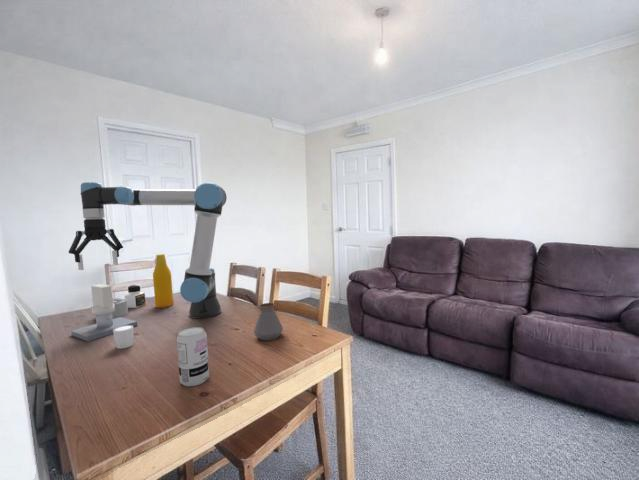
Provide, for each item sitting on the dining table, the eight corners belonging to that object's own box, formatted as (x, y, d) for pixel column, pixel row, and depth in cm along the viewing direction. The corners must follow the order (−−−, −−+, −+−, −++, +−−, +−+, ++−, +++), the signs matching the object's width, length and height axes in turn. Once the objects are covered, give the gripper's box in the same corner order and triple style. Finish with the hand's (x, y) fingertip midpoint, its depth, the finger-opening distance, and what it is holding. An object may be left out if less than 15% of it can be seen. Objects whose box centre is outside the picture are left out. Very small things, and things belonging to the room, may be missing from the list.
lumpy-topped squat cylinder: (97, 316, 163) (95, 300, 162) (126, 310, 171) (125, 295, 170) (99, 321, 155) (97, 304, 154) (129, 315, 163) (128, 298, 162)
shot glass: (139, 342, 125) (137, 325, 124) (123, 350, 118) (121, 332, 118) (126, 341, 127) (124, 324, 126) (110, 348, 121) (108, 330, 120)
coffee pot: (289, 335, 126) (287, 298, 124) (265, 345, 118) (263, 305, 116) (258, 324, 141) (256, 291, 139) (235, 331, 132) (233, 296, 131)
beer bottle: (176, 302, 183) (172, 253, 180) (169, 307, 173) (164, 255, 171) (160, 303, 182) (156, 253, 180) (152, 308, 173) (147, 256, 171)
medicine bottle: (136, 308, 175) (134, 287, 174) (125, 307, 176) (123, 286, 175) (145, 304, 182) (144, 284, 181) (135, 304, 183) (133, 284, 182)
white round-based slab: (119, 310, 141) (117, 284, 140) (98, 316, 134) (95, 288, 133) (106, 307, 147) (104, 282, 146) (86, 313, 140) (83, 286, 139)
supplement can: (185, 374, 98) (181, 327, 97) (212, 372, 98) (209, 325, 97) (175, 388, 90) (171, 337, 88) (205, 386, 90) (201, 335, 89)
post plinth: (137, 325, 145) (135, 308, 145) (87, 341, 128) (85, 322, 128) (120, 320, 153) (119, 304, 153) (71, 335, 136) (69, 317, 136)
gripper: (120, 218, 149) (124, 262, 151) (55, 220, 128) (60, 271, 130) (128, 217, 145) (132, 263, 147) (63, 219, 124) (69, 272, 126)
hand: (99, 267), depth 138 cm, fingers open, 13 cm apart
